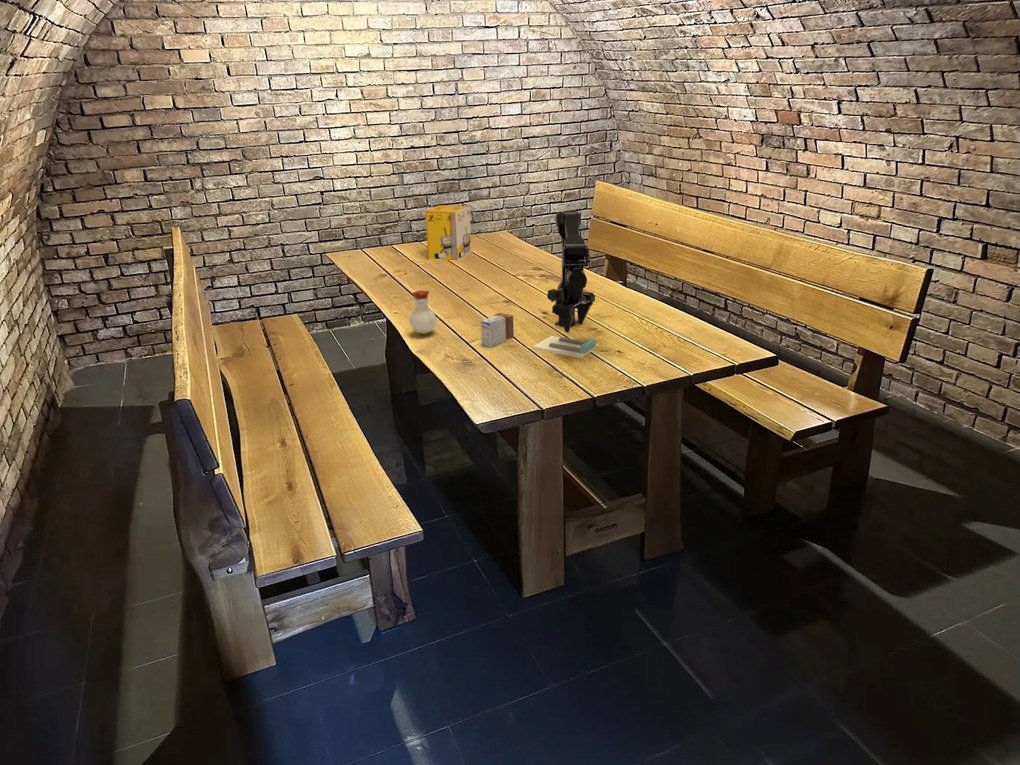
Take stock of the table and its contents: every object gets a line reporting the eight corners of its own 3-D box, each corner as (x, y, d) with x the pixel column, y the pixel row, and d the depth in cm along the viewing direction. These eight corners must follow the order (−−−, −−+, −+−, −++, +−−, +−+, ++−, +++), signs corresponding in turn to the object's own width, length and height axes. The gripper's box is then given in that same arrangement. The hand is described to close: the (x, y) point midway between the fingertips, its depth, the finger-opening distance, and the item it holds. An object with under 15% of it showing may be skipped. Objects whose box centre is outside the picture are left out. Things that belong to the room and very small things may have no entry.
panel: (498, 312, 254) (513, 315, 251) (499, 334, 257) (513, 337, 254) (493, 315, 251) (508, 317, 248) (494, 337, 254) (509, 339, 251)
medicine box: (496, 338, 253) (495, 315, 249) (506, 341, 250) (505, 317, 246) (481, 345, 247) (480, 320, 244) (491, 347, 244) (490, 323, 241)
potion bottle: (439, 336, 256) (437, 295, 251) (412, 339, 254) (408, 297, 248) (435, 328, 265) (432, 288, 259) (408, 331, 262) (405, 290, 257)
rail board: (551, 339, 251) (551, 329, 249) (598, 347, 242) (598, 337, 240) (533, 349, 242) (533, 339, 240) (581, 359, 232) (581, 348, 231)
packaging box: (458, 264, 355) (455, 212, 345) (428, 261, 360) (425, 210, 350) (471, 256, 368) (469, 206, 359) (442, 254, 374) (439, 205, 364)
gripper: (566, 272, 242) (565, 317, 248) (537, 285, 228) (537, 332, 234) (596, 276, 237) (595, 321, 243) (568, 289, 222) (568, 338, 228)
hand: (573, 328), depth 237 cm, fingers open, 9 cm apart
